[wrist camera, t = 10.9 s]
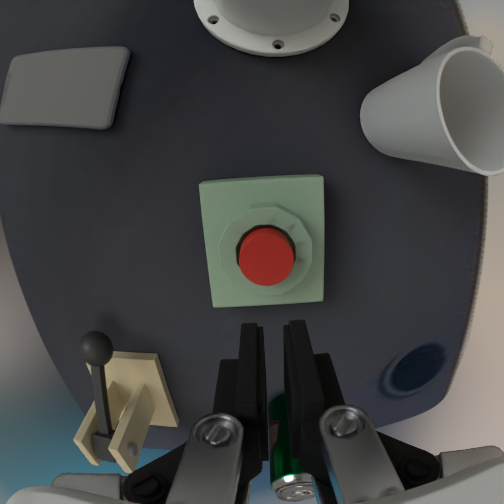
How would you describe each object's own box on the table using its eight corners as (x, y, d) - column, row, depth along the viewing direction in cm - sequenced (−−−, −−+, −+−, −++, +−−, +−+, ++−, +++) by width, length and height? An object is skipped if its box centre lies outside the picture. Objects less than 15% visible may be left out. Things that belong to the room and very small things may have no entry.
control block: (203, 180, 23) (193, 186, 20) (317, 174, 23) (329, 178, 19) (216, 295, 27) (210, 319, 23) (318, 289, 26) (327, 312, 23)
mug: (409, 174, 23) (505, 199, 11) (343, 136, 22) (418, 129, 11) (443, 80, 20) (535, 60, 8) (383, 40, 19) (459, -14, 8)
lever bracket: (86, 348, 29) (41, 412, 19) (157, 353, 29) (124, 432, 19) (116, 413, 33) (89, 475, 23) (179, 420, 32) (162, 491, 22)
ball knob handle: (90, 329, 26) (71, 330, 23) (118, 331, 26) (101, 332, 23) (104, 447, 24) (89, 459, 20) (132, 453, 24) (118, 466, 20)
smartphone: (108, 131, 21) (-5, 125, 20) (113, 131, 22) (1, 124, 21) (130, 45, 19) (11, 55, 18) (134, 48, 20) (17, 57, 18)
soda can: (265, 392, 30) (267, 486, 19) (311, 386, 30) (329, 478, 19) (270, 419, 32) (273, 505, 21) (312, 414, 32) (327, 498, 20)
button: (238, 229, 21) (236, 236, 19) (290, 226, 21) (293, 232, 19) (242, 277, 22) (241, 287, 20) (291, 274, 22) (294, 284, 20)
